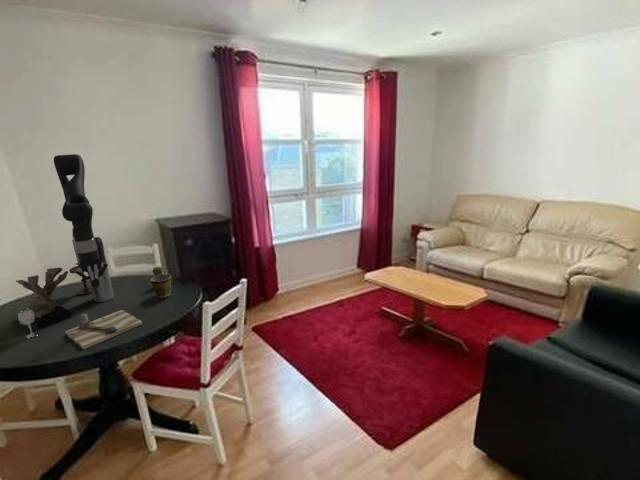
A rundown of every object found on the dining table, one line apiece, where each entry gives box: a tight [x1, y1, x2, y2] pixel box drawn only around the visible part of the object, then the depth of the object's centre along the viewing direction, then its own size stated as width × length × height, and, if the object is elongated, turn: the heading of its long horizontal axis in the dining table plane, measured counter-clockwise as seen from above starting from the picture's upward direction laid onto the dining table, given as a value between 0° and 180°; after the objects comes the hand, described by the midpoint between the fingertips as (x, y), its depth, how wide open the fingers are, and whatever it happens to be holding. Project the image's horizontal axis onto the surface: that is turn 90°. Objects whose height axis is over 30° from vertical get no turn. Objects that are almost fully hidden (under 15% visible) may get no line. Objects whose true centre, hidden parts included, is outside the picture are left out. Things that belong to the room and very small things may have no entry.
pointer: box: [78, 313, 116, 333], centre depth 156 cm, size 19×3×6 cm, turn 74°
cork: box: [152, 266, 164, 277], centre depth 204 cm, size 6×6×11 cm
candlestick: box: [68, 233, 93, 297], centre depth 197 cm, size 11×11×35 cm
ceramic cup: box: [150, 273, 172, 299], centre depth 192 cm, size 13×10×10 cm
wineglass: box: [17, 307, 40, 339], centre depth 157 cm, size 6×6×12 cm
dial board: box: [64, 309, 143, 350], centre depth 160 cm, size 20×24×2 cm
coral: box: [15, 267, 73, 330], centre depth 175 cm, size 25×20×22 cm
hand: (96, 286), depth 160 cm, fingers closed
